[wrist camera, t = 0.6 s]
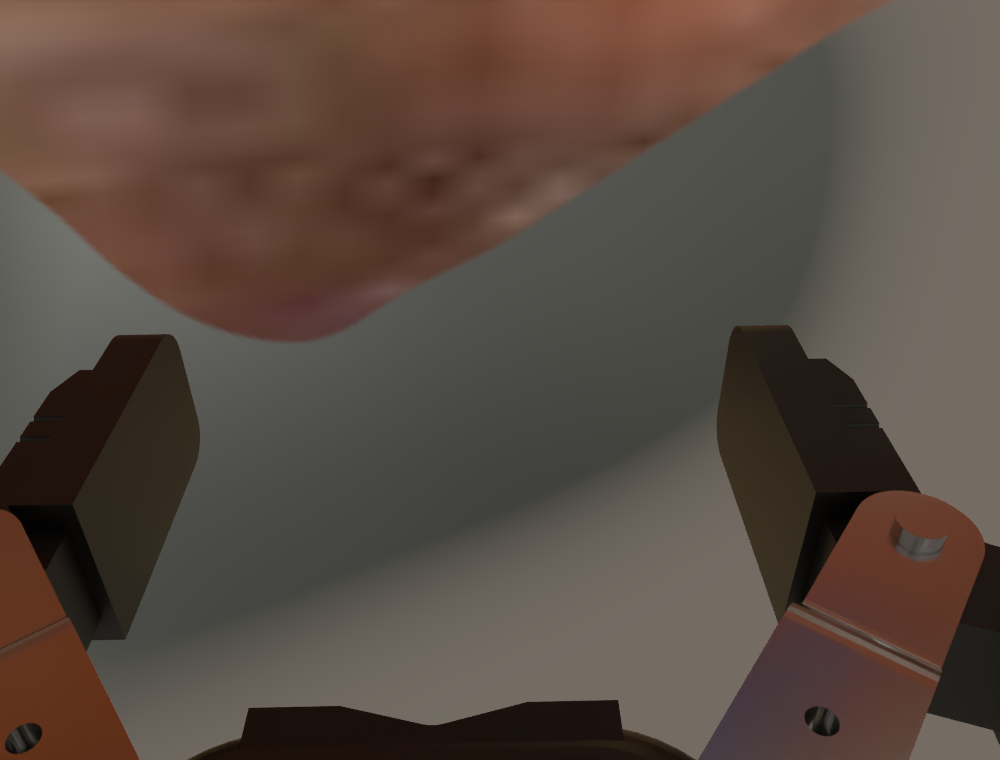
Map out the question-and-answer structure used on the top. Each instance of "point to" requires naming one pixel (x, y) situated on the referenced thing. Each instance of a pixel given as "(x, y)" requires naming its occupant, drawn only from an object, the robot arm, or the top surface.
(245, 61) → the top surface
